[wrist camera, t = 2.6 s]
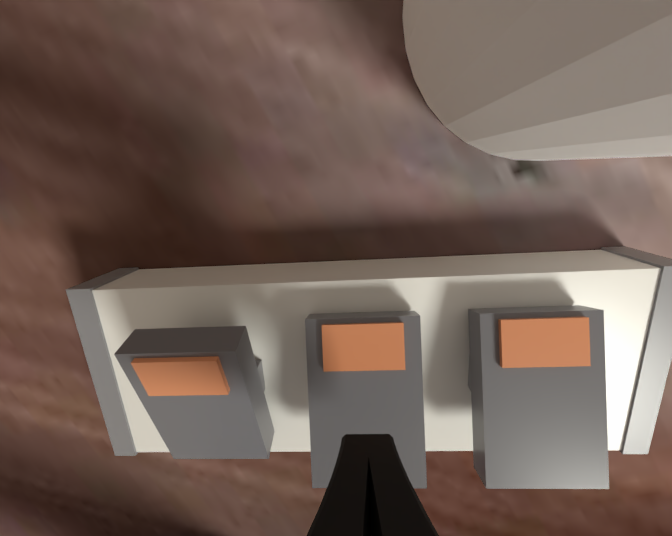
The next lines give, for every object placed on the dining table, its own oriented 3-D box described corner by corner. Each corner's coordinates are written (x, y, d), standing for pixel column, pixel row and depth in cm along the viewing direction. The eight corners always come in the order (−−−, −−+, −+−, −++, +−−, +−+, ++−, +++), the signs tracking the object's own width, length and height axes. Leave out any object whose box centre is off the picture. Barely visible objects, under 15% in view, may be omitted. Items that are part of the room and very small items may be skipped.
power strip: (718, 402, 16) (815, 464, 13) (154, 409, 18) (107, 464, 15) (767, 240, 14) (901, 261, 11) (119, 268, 16) (54, 294, 13)
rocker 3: (584, 466, 12) (613, 493, 11) (473, 466, 12) (488, 492, 11) (579, 305, 12) (608, 310, 11) (468, 308, 12) (481, 314, 11)
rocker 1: (274, 430, 14) (267, 463, 13) (186, 431, 15) (171, 463, 14) (245, 325, 11) (233, 356, 10) (134, 329, 12) (110, 359, 10)
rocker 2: (420, 466, 13) (427, 492, 11) (316, 467, 13) (311, 491, 12) (414, 310, 13) (421, 316, 11) (309, 313, 13) (303, 320, 11)
